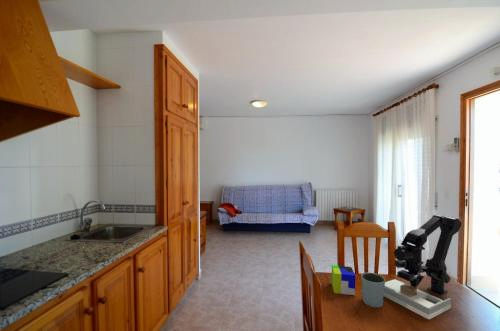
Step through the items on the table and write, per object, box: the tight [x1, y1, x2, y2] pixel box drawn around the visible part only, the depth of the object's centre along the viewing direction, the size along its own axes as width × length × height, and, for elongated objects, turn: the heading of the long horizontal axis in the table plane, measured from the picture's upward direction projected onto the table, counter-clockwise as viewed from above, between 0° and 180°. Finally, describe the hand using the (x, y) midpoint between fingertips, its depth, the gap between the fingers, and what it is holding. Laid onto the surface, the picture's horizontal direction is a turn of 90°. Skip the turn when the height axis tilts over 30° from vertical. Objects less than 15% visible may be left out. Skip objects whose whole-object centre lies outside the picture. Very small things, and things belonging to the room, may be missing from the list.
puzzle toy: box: [331, 264, 356, 296], centre depth 127 cm, size 10×10×10 cm
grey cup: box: [360, 272, 386, 308], centre depth 115 cm, size 10×10×12 cm
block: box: [400, 283, 418, 297], centre depth 120 cm, size 5×5×3 cm
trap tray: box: [383, 279, 452, 320], centre depth 118 cm, size 18×26×4 cm
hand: (413, 289), depth 121 cm, fingers closed
